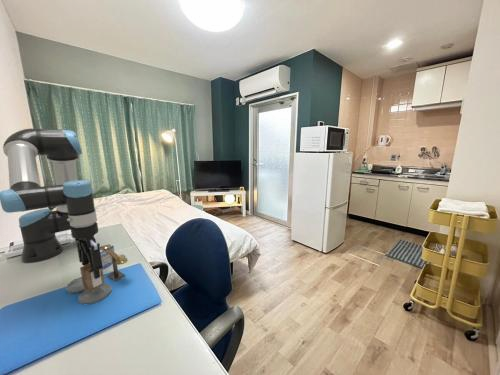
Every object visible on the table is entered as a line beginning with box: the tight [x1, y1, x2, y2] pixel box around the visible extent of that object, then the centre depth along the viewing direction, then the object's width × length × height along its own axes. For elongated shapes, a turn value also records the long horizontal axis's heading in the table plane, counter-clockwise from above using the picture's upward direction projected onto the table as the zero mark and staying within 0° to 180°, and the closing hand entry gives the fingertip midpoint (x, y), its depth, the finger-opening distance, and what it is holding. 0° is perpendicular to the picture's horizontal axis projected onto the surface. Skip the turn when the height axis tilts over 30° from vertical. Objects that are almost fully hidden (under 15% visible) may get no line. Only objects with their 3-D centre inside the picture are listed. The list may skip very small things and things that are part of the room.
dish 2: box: [78, 283, 112, 305], centre depth 79 cm, size 10×10×1 cm
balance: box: [100, 244, 128, 282], centre depth 89 cm, size 17×4×12 cm, turn 59°
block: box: [79, 263, 105, 292], centre depth 78 cm, size 5×5×8 cm
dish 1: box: [65, 276, 86, 294], centre depth 85 cm, size 10×10×1 cm
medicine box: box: [100, 244, 115, 270], centre depth 98 cm, size 8×4×9 cm, turn 168°
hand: (93, 282), depth 78 cm, fingers closed on block, 5 cm apart
